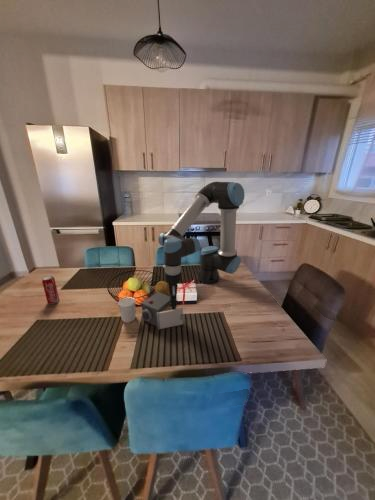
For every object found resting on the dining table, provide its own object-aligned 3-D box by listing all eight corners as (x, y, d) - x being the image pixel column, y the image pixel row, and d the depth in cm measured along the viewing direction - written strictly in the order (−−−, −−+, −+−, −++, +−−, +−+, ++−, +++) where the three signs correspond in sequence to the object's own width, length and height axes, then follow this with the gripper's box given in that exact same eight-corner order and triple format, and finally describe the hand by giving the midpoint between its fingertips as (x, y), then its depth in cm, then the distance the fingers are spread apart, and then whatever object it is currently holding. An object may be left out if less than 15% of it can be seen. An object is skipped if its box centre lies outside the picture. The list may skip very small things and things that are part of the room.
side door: (158, 330, 96) (157, 314, 93) (157, 328, 98) (156, 312, 95) (183, 325, 100) (183, 309, 97) (182, 322, 101) (182, 307, 98)
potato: (171, 277, 127) (156, 276, 126) (170, 289, 114) (153, 288, 114) (170, 290, 130) (155, 289, 130) (169, 303, 118) (153, 302, 117)
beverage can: (48, 306, 114) (42, 282, 109) (46, 300, 119) (40, 277, 113) (60, 301, 118) (55, 278, 112) (58, 296, 122) (52, 274, 117)
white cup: (131, 311, 110) (129, 295, 107) (139, 318, 105) (138, 301, 101) (117, 318, 105) (115, 301, 101) (125, 325, 100) (123, 308, 96)
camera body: (158, 307, 113) (157, 290, 109) (173, 314, 108) (173, 296, 104) (139, 322, 102) (138, 303, 98) (155, 330, 97) (154, 311, 93)
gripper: (164, 266, 100) (165, 307, 108) (164, 279, 88) (166, 324, 96) (179, 265, 101) (179, 306, 109) (182, 278, 89) (182, 323, 97)
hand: (173, 315), depth 102 cm, fingers closed
